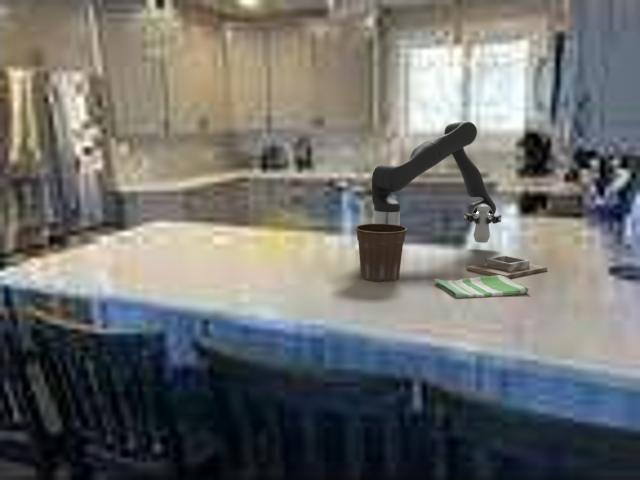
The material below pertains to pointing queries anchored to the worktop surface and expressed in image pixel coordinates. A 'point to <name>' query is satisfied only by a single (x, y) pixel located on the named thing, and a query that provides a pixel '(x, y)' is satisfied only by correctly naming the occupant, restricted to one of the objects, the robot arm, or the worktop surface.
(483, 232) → the salt shaker
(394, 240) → the plant pot
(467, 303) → the worktop surface
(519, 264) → the caddy board
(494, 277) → the dish towel
